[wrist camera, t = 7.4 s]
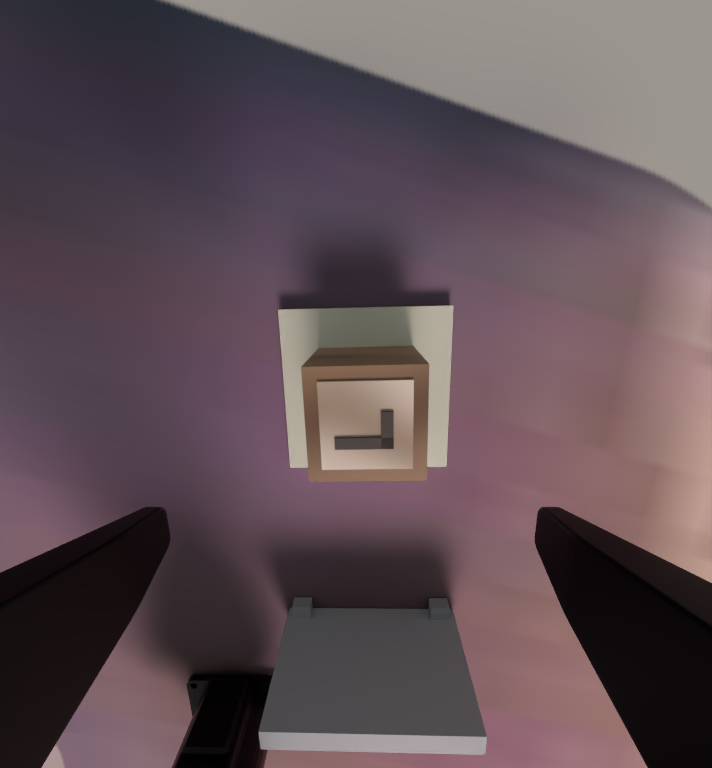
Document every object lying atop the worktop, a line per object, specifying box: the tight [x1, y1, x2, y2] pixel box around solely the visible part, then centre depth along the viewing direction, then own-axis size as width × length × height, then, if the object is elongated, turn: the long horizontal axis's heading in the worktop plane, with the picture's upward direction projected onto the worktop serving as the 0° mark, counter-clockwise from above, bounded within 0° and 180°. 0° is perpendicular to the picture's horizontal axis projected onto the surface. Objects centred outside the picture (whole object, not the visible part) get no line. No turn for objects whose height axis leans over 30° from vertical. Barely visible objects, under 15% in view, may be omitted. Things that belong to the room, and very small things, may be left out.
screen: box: [259, 597, 487, 755], centre depth 20 cm, size 3×11×7 cm, turn 91°
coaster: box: [278, 305, 453, 468], centre depth 19 cm, size 9×9×1 cm
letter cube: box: [301, 346, 429, 482], centre depth 17 cm, size 5×5×5 cm
